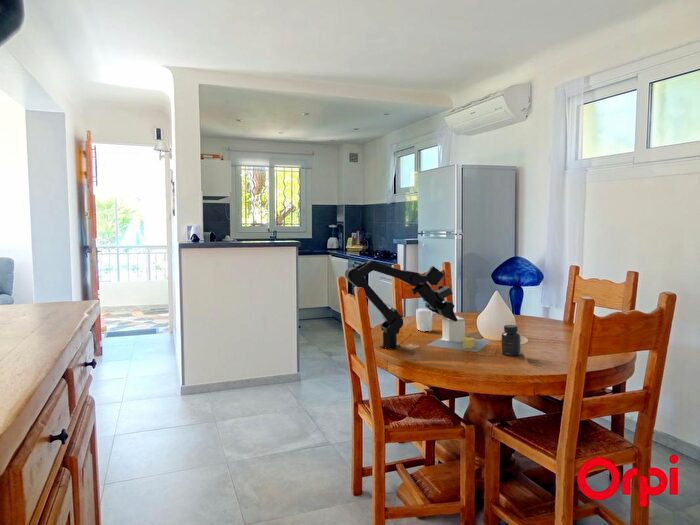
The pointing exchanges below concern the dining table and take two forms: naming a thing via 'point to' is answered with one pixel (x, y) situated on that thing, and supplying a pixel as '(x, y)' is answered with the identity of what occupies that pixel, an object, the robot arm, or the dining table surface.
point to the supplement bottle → (510, 341)
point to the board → (461, 344)
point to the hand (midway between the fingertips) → (452, 318)
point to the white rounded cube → (453, 329)
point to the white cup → (424, 319)
